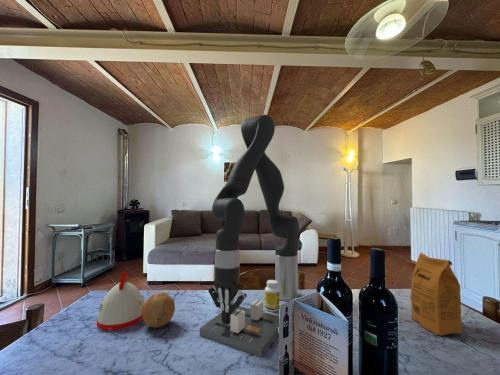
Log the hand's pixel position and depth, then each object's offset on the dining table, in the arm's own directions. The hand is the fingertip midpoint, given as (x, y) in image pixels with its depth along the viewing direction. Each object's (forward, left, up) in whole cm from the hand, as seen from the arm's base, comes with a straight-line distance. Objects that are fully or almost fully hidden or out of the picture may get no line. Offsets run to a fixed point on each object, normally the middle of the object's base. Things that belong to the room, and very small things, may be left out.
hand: (226, 323), depth 69 cm
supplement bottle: (-21, +6, -3) cm, 22 cm away
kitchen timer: (+10, -35, -3) cm, 37 cm away
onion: (+7, -21, -3) cm, 23 cm away
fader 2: (-9, +6, -1) cm, 11 cm away
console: (-4, +4, -3) cm, 6 cm away
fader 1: (0, +4, -1) cm, 4 cm away
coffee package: (-35, +56, -3) cm, 66 cm away
